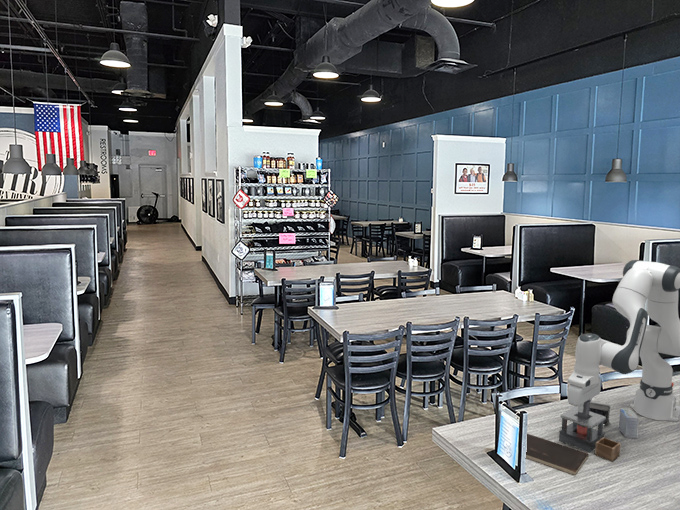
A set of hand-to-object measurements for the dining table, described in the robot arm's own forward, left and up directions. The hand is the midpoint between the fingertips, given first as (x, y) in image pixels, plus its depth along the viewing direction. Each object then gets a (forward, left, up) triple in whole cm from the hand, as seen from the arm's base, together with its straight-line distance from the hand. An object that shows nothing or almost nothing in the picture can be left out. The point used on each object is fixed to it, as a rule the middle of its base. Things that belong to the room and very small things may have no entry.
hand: (583, 410), depth 196 cm
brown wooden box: (+3, +11, -13) cm, 17 cm away
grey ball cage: (0, 0, -13) cm, 13 cm away
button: (0, 0, -11) cm, 11 cm away
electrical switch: (-21, -3, -13) cm, 25 cm away
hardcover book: (+19, -3, -14) cm, 24 cm away
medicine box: (-21, +9, -13) cm, 26 cm away
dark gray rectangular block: (0, 0, -6) cm, 6 cm away
